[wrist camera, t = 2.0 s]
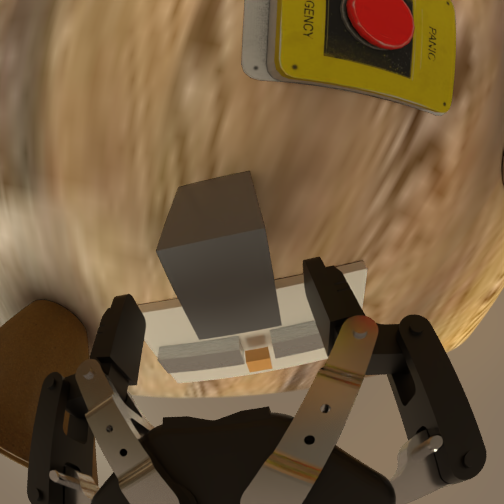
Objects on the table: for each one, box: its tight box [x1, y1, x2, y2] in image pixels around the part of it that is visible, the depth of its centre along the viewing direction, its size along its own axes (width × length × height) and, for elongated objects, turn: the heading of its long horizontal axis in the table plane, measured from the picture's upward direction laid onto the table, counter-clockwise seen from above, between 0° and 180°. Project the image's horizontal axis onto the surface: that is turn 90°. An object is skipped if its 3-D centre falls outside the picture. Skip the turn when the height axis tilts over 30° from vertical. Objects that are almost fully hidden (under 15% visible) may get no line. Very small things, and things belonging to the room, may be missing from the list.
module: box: [156, 171, 282, 340], centre depth 15 cm, size 4×6×7 cm
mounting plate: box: [138, 261, 367, 383], centre depth 25 cm, size 20×12×1 cm, turn 100°
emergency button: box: [241, 0, 456, 116], centre depth 10 cm, size 9×4×15 cm
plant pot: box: [0, 300, 98, 486], centre depth 16 cm, size 15×15×16 cm
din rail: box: [157, 320, 324, 373], centre depth 24 cm, size 18×2×2 cm, turn 100°
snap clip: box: [245, 347, 272, 372], centre depth 23 cm, size 2×2×1 cm
